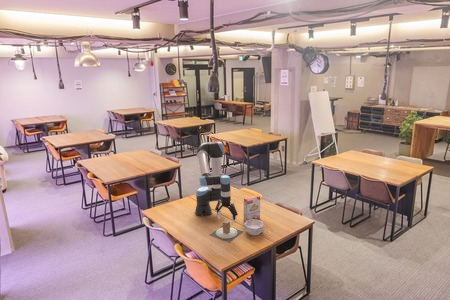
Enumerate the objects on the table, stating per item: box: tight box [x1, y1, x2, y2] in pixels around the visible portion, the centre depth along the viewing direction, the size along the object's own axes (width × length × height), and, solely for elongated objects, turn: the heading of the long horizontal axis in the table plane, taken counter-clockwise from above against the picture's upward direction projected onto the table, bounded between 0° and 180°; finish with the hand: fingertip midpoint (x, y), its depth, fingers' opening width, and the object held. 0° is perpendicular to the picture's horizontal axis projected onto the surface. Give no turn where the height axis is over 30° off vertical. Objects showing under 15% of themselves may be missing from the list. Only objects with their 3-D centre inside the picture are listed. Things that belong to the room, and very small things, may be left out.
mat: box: [209, 225, 245, 243], centre depth 246 cm, size 20×20×1 cm
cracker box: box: [243, 194, 261, 222], centre depth 266 cm, size 14×6×21 cm, turn 122°
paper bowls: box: [244, 219, 265, 236], centre depth 246 cm, size 15×15×8 cm
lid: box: [215, 219, 237, 239], centre depth 245 cm, size 17×17×10 cm
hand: (226, 221), depth 243 cm, fingers open, 13 cm apart
